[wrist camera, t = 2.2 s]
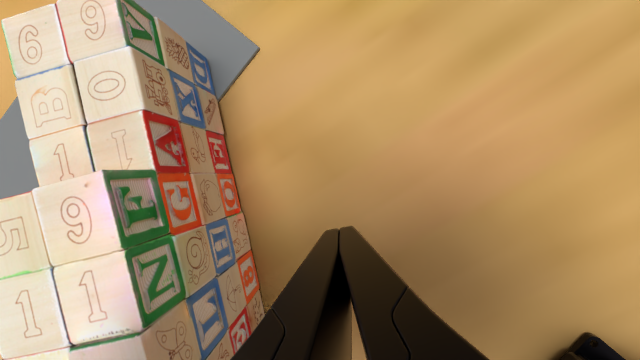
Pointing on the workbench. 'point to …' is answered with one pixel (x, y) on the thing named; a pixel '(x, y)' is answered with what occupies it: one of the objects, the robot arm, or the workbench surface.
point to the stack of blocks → (121, 196)
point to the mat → (187, 21)
